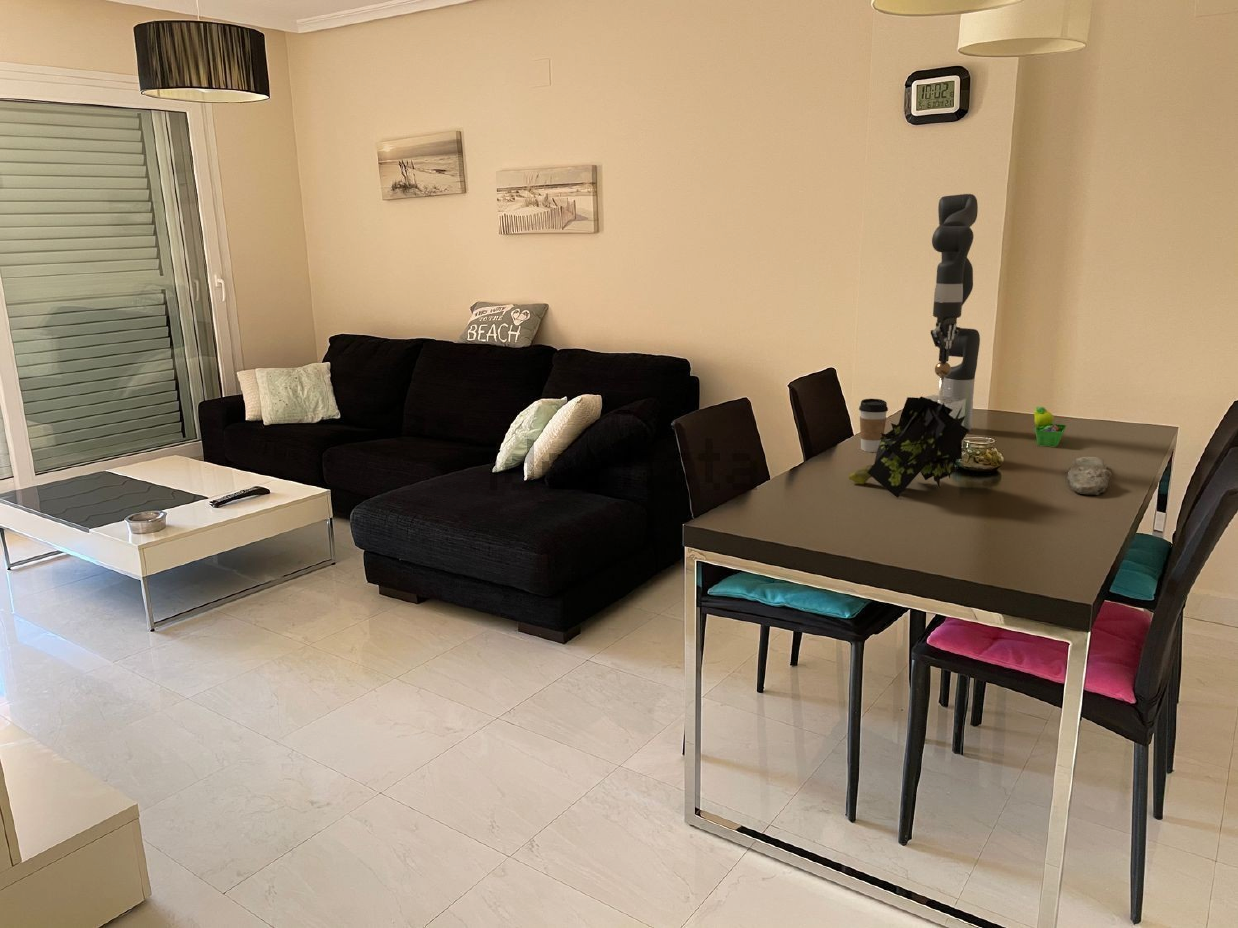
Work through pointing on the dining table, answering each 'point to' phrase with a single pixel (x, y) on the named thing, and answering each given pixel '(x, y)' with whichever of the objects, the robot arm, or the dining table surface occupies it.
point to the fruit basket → (1047, 428)
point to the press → (951, 405)
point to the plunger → (942, 375)
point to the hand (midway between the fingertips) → (943, 361)
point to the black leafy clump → (916, 447)
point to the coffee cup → (872, 423)
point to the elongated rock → (1088, 475)
